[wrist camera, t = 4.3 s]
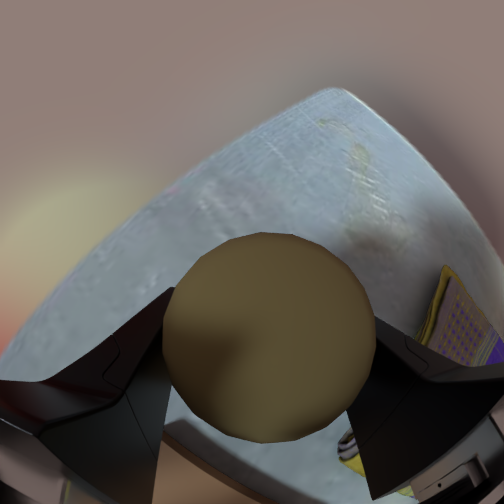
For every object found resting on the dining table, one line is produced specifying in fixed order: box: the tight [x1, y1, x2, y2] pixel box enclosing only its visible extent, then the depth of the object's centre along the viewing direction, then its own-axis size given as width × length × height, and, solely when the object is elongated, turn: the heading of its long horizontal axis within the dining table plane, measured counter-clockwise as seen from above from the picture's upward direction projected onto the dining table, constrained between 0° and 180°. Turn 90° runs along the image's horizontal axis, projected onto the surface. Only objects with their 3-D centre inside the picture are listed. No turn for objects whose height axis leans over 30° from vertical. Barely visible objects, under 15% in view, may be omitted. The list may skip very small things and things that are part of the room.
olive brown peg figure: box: [162, 232, 376, 444], centre depth 10 cm, size 6×6×11 cm
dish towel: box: [337, 265, 504, 499], centre depth 14 cm, size 18×24×3 cm
